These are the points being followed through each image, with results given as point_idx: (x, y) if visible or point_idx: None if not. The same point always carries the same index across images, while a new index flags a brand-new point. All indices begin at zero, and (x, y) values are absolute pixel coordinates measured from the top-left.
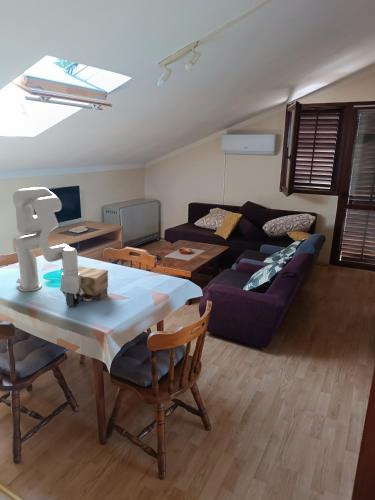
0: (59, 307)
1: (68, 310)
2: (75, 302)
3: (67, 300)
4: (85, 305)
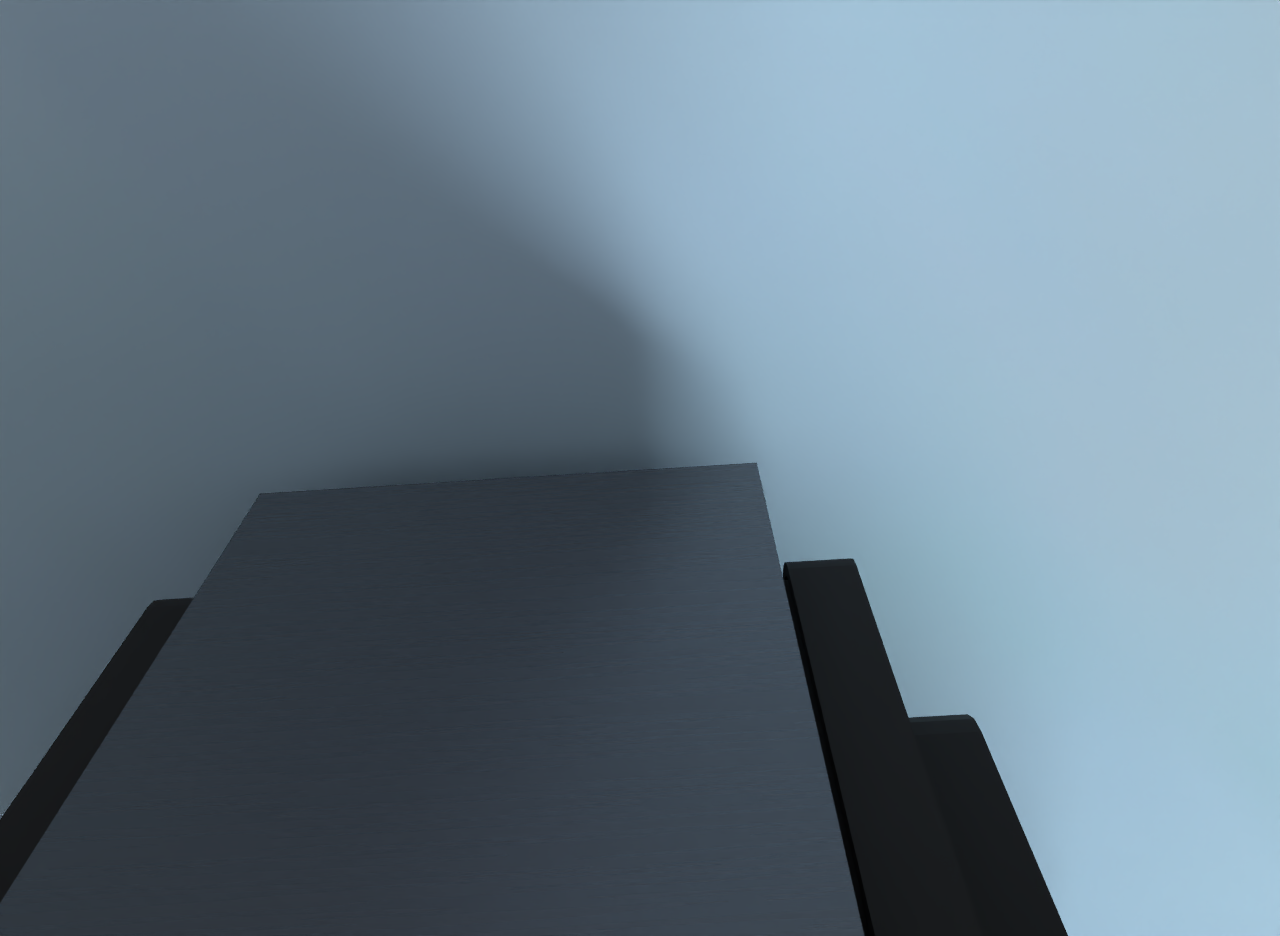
0: (1162, 163)
1: (332, 60)
2: None
3: (727, 689)
4: None
